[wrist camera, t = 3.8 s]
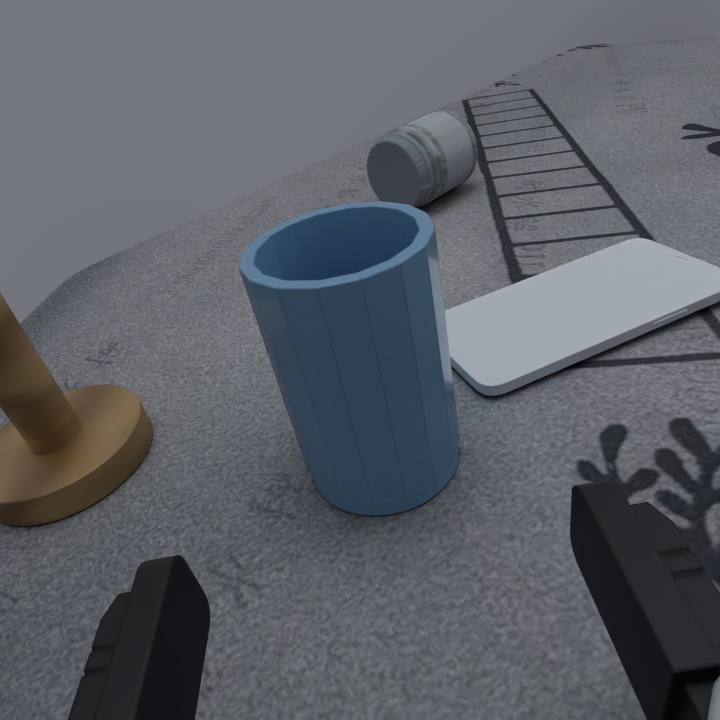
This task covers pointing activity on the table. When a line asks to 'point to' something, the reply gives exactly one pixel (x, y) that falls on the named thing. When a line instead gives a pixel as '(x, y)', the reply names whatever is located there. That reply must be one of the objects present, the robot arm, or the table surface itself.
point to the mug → (360, 350)
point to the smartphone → (575, 312)
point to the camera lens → (422, 159)
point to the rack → (60, 436)
